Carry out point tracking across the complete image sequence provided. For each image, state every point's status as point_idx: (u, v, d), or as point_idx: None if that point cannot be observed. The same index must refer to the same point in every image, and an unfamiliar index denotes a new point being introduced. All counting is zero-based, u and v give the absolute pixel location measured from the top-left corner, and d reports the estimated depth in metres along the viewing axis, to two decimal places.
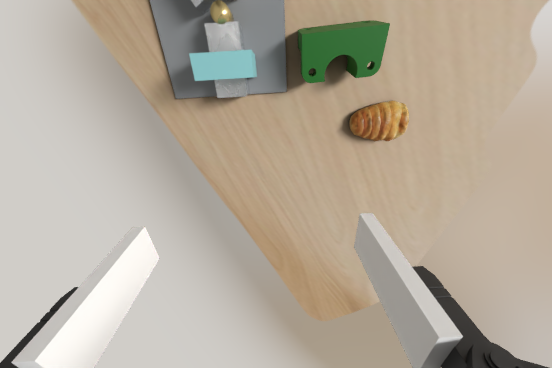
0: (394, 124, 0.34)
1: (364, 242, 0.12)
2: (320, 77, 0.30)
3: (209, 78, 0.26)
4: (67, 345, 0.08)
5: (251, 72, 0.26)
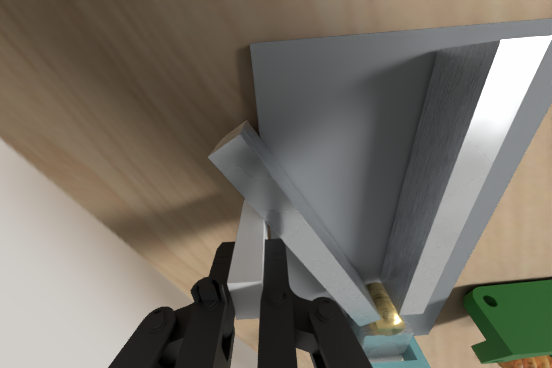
0: None
1: None
2: (504, 361, 0.21)
3: None
4: None
5: None
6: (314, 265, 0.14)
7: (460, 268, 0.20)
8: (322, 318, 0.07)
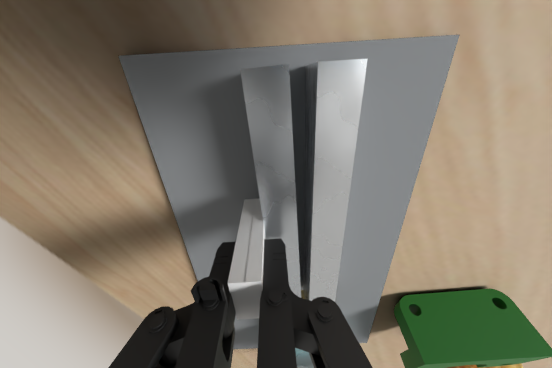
0: None
1: None
2: None
3: None
4: None
5: None
6: None
7: (383, 278, 0.20)
8: (321, 318, 0.07)
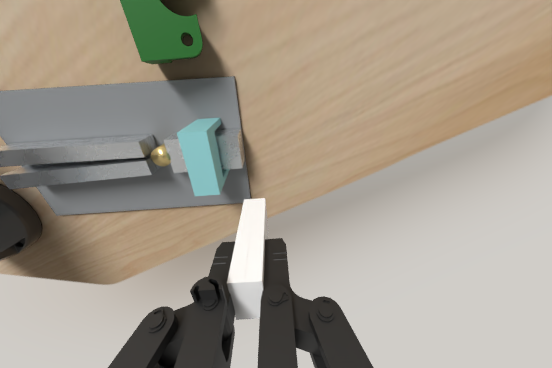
0: None
1: None
2: (191, 23, 0.19)
3: (215, 180, 0.24)
4: None
5: (201, 133, 0.21)
6: (80, 178, 0.27)
7: (133, 85, 0.25)
8: (322, 318, 0.07)
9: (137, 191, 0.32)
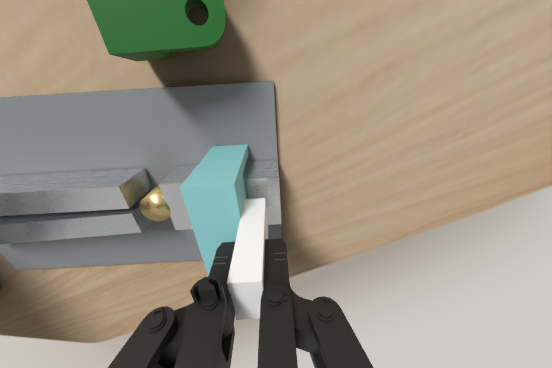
0: None
1: None
2: None
3: None
4: None
5: (224, 188, 0.11)
6: (33, 236, 0.17)
7: (113, 95, 0.16)
8: (322, 318, 0.07)
9: (125, 242, 0.23)
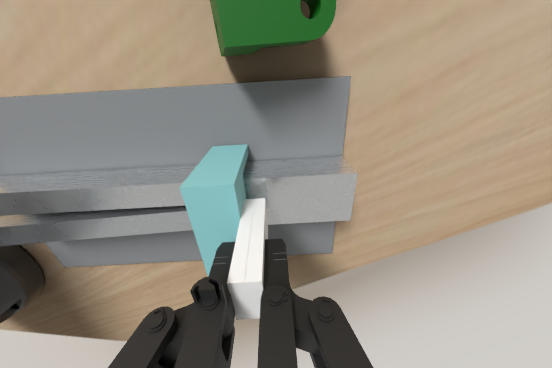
0: None
1: None
2: None
3: None
4: None
5: (224, 188, 0.11)
6: (101, 232, 0.17)
7: (188, 90, 0.16)
8: (322, 318, 0.07)
9: (177, 239, 0.23)
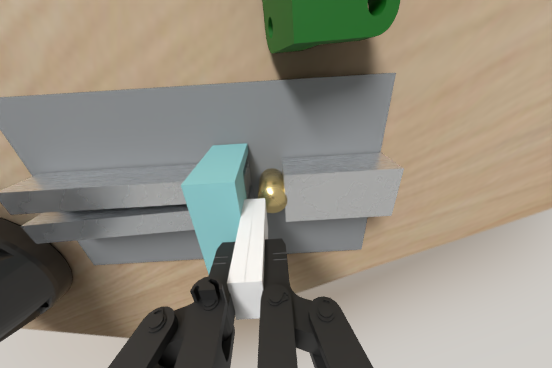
0: None
1: None
2: None
3: None
4: None
5: (225, 186, 0.11)
6: (144, 228, 0.17)
7: (235, 87, 0.16)
8: (322, 319, 0.07)
9: None
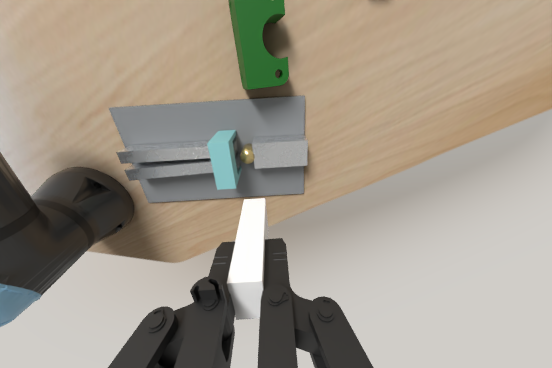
0: None
1: None
2: (283, 63, 0.28)
3: (233, 177, 0.32)
4: None
5: (224, 143, 0.29)
6: (184, 172, 0.35)
7: (229, 102, 0.33)
8: (322, 318, 0.07)
9: (215, 184, 0.40)
